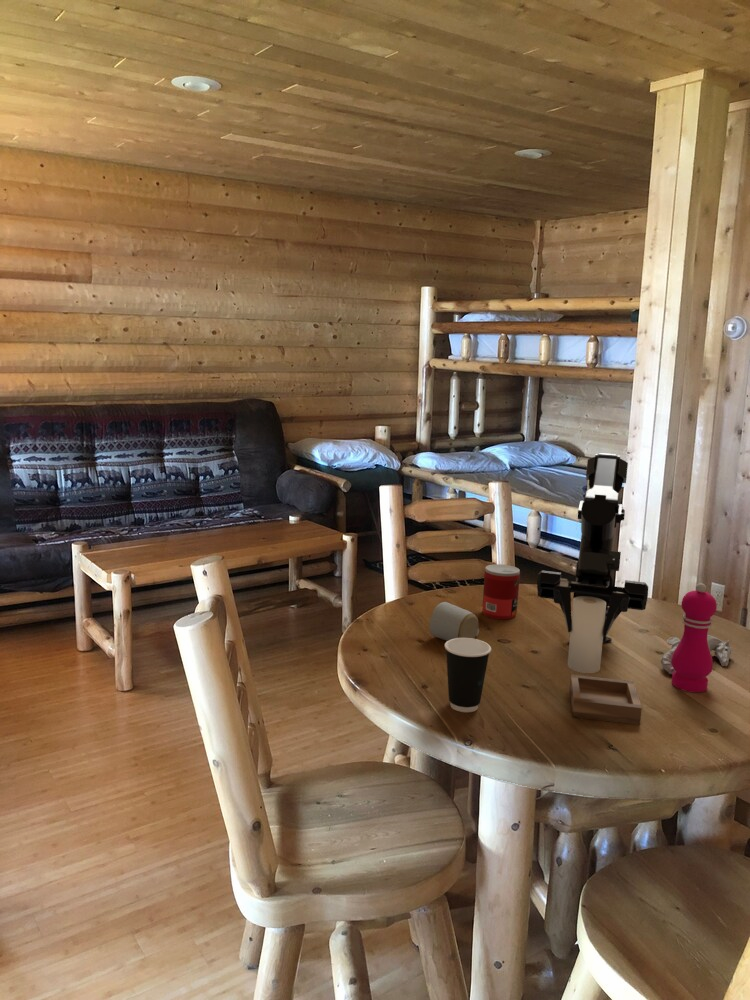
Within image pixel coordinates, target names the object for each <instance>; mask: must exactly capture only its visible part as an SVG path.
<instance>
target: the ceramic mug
mask: <svg viewBox="0 0 750 1000" xmlns="http://www.w3.org/2000/svg"><path fill="white" fill-rule="evenodd" d="M429 631H430V634H431V635H432V636H433V637H435V638H438V639H441V640H443V641H446V642H447V641H449V640H451V639H455V638H473V639H476V637H478V635H479V632H480V629H479V619H478V616H476V614H474V613H473V612H471V611H470V610H467V609H464V608H462V607H460V606H457V605H454V604H452V603H449V602H447V601H443V602H440V603H438V604H437V605H436V606H435V608H434V609H433V610H432V612H431V616H430V619H429Z"/></svg>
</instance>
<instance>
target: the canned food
mask: <svg viewBox="0 0 750 1000" xmlns="http://www.w3.org/2000/svg"><path fill="white" fill-rule="evenodd" d="M520 575H521V572H520V569H519V568H518V567H516V566H514V565H509V564H503V563H502V564H501V563H500V564H499V563H497V564H496V563H495V564H489V565H486V566H485V569H484V576H483V594H482V613H483V615H484V616H486V617H488V618H491V619H495V620H510V619H513V618H515V617H516V616H517V612H518V600H519V590H520Z"/></svg>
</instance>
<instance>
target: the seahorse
mask: <svg viewBox="0 0 750 1000" xmlns="http://www.w3.org/2000/svg"><path fill="white" fill-rule="evenodd" d="M680 641H681V639H680V638H679V637H677V636H671V637H669V638H668V639H667V640H666V643H667V644H668V645H669V646H671V648H670V649H669V650H667V651H665V653H663V655H662V656H661V659H660V664H661V667H662V669H663V670H664V671H666V672H668V675H671V676H672V675H673V673H674V672H675V670H674V668H673V666H672V664H671V660H672V655H673V653H674V651H675V649H676V647H677V646H678V644H679V643H680ZM707 641H708V647H709V650H710V652H711V651H713V652H714V656H716V657H717V659H718V661H719V663H720V664H721V666H722V667H723V666H726V667H728V665H729V663H730V661H729V659H730V656H731V654H732V651H733V649H732V647H731V645H730V643H731V642H730V640H729V639H728V640H727V641H723V640H721V639H719V638H717V637H715V636H713V635H709V634H707Z"/></svg>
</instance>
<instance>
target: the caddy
mask: <svg viewBox="0 0 750 1000" xmlns="http://www.w3.org/2000/svg"><path fill="white" fill-rule="evenodd" d="M569 698H570V707H571V714H572V718H579V719H587V720H596V721H604V722H605V721H606V722H614V723H623V724H629V725H630V724H631V725H638V726H639V725H641V719H642V718H641V717H642V708H643V707H642V704H641V701H640V698H639V695H638V692H637V689H636V685H635V682H634V680H633V681H632V680H625V679H615V678H605V677H600V676H599V677H597V676H589V675H578V674H570V679H569Z"/></svg>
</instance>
